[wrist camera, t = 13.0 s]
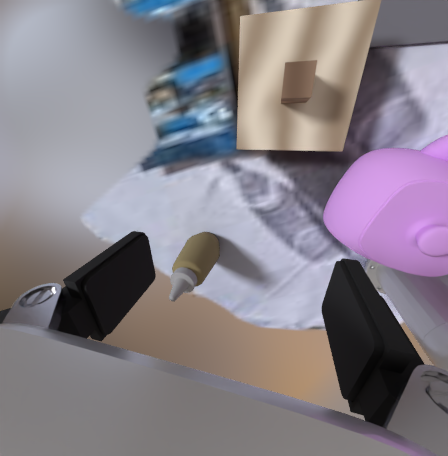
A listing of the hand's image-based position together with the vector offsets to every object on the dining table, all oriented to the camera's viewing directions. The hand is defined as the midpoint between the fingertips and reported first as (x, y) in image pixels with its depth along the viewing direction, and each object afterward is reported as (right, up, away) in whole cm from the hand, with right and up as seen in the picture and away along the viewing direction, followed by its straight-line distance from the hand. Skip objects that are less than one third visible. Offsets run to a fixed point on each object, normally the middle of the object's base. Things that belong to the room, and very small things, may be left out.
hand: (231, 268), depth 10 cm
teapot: (+27, +8, +24) cm, 37 cm away
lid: (+9, +21, +16) cm, 28 cm away
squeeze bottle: (-4, -1, +37) cm, 37 cm away
